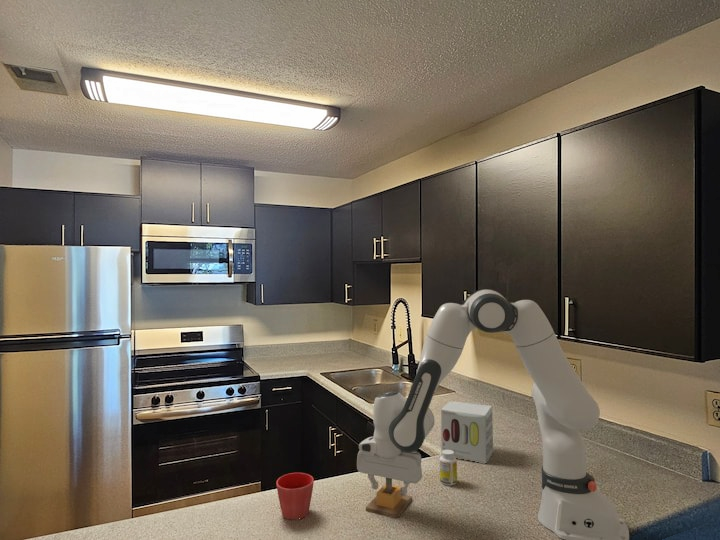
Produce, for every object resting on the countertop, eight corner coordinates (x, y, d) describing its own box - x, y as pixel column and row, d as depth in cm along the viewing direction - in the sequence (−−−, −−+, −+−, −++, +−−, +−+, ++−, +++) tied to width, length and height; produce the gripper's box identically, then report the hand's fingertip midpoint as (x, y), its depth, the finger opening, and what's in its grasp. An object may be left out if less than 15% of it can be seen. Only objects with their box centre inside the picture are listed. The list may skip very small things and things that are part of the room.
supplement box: (440, 457, 174) (439, 409, 175) (450, 445, 186) (449, 400, 186) (486, 465, 167) (485, 415, 167) (494, 452, 178) (493, 405, 178)
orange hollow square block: (402, 498, 141) (401, 486, 141) (393, 508, 135) (393, 496, 135) (385, 494, 143) (385, 483, 143) (376, 505, 137) (376, 493, 137)
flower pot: (317, 519, 132) (317, 485, 132) (278, 526, 128) (278, 491, 129) (310, 501, 142) (310, 470, 142) (274, 507, 139) (274, 475, 139)
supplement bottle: (454, 478, 156) (453, 448, 156) (459, 485, 151) (458, 454, 151) (438, 479, 156) (437, 448, 156) (442, 486, 150) (442, 455, 150)
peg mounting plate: (411, 499, 142) (411, 470, 142) (397, 518, 131) (396, 486, 131) (382, 492, 147) (381, 464, 147) (365, 510, 136) (365, 480, 136)
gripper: (424, 447, 137) (425, 493, 137) (363, 437, 146) (364, 480, 146) (417, 454, 132) (418, 503, 132) (354, 444, 141) (354, 489, 141)
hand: (389, 491), depth 139 cm, fingers open, 8 cm apart
